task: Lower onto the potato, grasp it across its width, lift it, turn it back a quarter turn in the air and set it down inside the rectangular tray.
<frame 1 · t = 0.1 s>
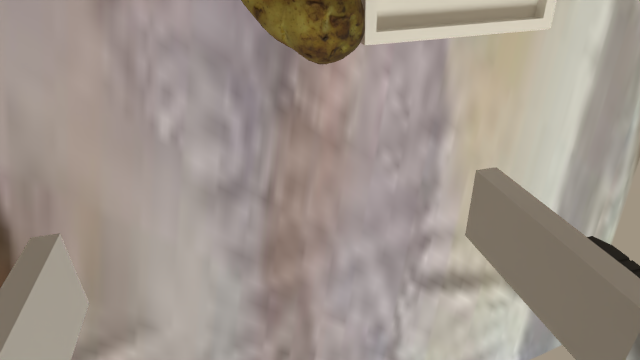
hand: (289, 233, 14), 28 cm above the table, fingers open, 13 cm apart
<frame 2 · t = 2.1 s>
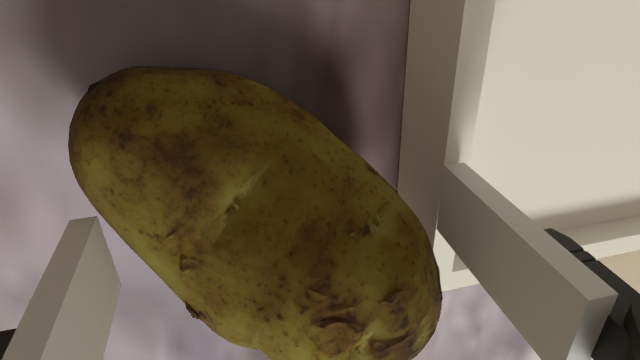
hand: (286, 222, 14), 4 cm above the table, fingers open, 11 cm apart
potato: (262, 167, 18), on the table, touching gripper
rectangular tray: (600, 40, 18), on the table
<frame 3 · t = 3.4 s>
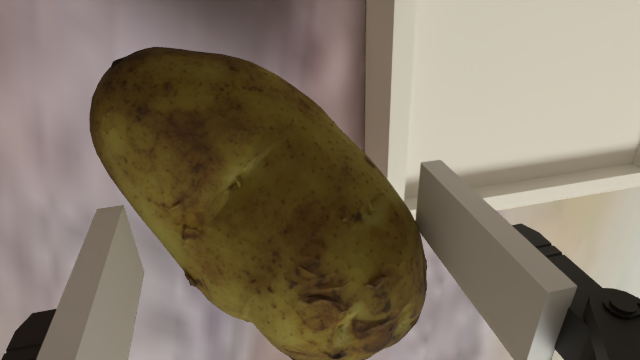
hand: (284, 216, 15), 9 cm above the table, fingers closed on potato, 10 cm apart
potato: (268, 153, 19), point 5 cm above the table, touching gripper
rectangular tray: (518, 35, 24), on the table
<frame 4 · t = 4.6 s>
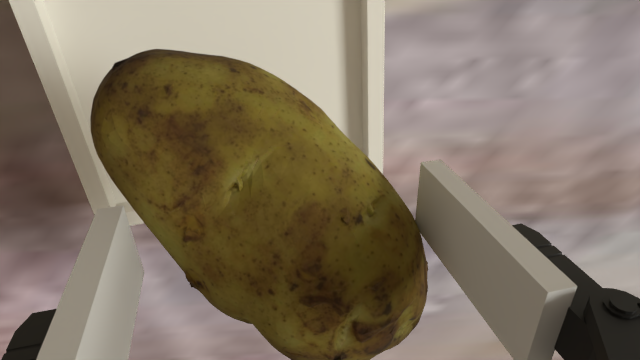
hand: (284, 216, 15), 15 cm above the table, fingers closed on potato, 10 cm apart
potato: (269, 155, 19), point 10 cm above the table, touching gripper
rectangular tray: (222, 48, 26), on the table
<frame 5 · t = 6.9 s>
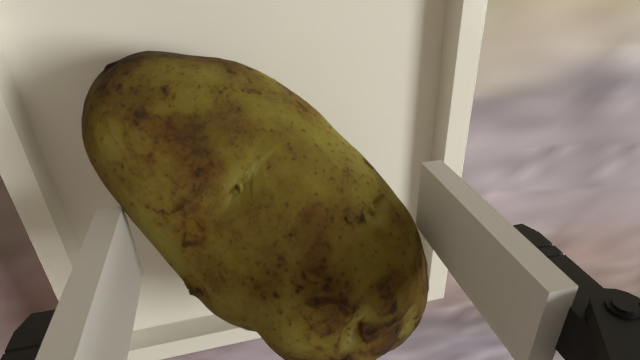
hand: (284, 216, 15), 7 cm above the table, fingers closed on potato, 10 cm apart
potato: (261, 159, 18), point 2 cm above the table, touching gripper, rectangular tray
rectangular tray: (254, 142, 20), on the table
when the fingers open (7 cm above the table, at t = 6.9 s): potato stays where it is, resting on rectangular tray.
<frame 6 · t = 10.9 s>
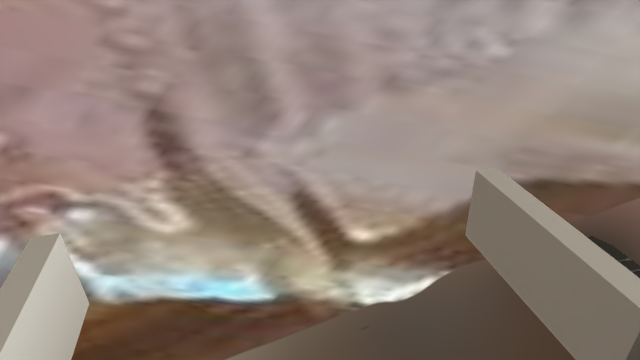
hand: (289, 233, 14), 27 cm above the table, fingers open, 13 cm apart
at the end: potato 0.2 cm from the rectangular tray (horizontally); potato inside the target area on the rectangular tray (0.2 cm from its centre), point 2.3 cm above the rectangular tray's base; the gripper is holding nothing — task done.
